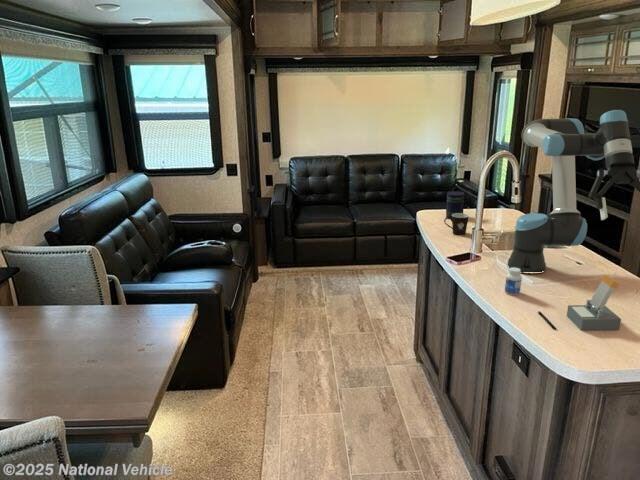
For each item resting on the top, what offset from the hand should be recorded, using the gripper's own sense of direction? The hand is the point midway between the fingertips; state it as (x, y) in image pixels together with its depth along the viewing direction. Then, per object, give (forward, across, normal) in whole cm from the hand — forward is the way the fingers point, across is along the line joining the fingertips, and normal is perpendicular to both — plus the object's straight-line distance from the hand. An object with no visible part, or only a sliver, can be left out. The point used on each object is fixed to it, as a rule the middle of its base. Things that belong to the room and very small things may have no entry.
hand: (628, 218), depth 143 cm
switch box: (+29, -5, +21) cm, 36 cm away
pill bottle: (+16, -25, +39) cm, 49 cm away
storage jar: (-45, -33, +123) cm, 135 cm away
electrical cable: (+29, -20, +22) cm, 41 cm away
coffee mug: (-27, -36, +99) cm, 109 cm away
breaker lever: (+25, -5, +18) cm, 31 cm away
